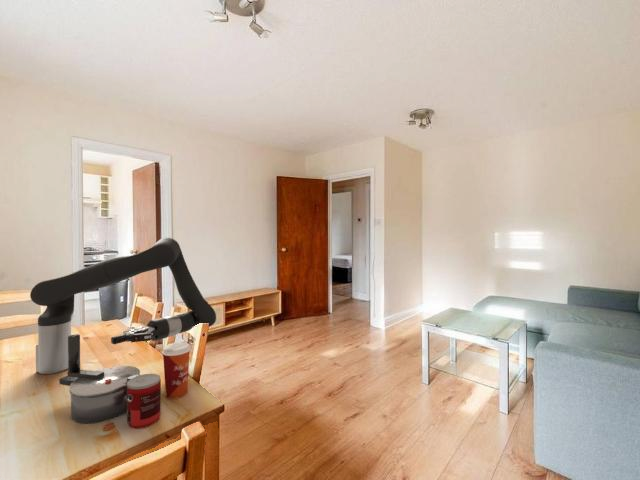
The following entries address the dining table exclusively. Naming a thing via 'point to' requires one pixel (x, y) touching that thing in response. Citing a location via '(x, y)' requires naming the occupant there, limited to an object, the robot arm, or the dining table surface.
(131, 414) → the canned food
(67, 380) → the pot
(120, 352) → the dining table surface
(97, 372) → the lid
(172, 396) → the coffee cup
